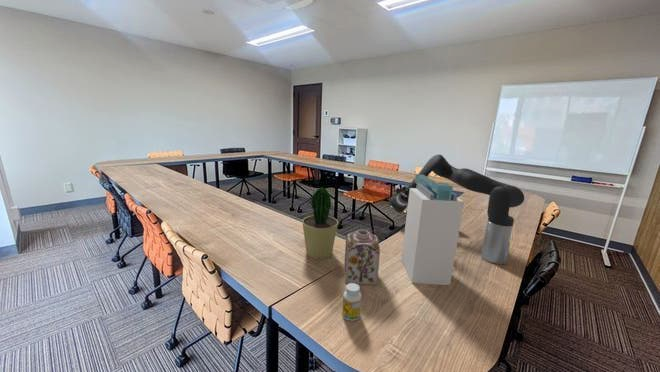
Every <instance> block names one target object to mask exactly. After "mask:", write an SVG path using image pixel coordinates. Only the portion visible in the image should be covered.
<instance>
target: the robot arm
mask: <svg viewBox="0 0 660 372" xmlns="http://www.w3.org/2000/svg"><path fill="white" fill-rule="evenodd" d="M432 172H433V174H435V176H437V177H440V178H444V179H447V180H448V181H451V182H453V183H454V184H456V185H458V186H460V187H462V188H463V189H466V190H468V191H471V192H474V193H480V194H483V195H488V196H489V197H488V204H487V216H488V217H487V222H486V223H487V224H486V227H485V233H484V237H483V238H484V239H483V242H482V243H483V244H482V248H481V252H480V257H481V258H482V259H483V260H485V261H486V262H489V263H491V264H497V265H500V264H501V265H502V264H503V265H506V264H507V260H508V256H509V251H510V246H511V244H510V239H511V235H512V232H513V227H514V223H515V219H514V217H513V216H511V215H509V213H510V209H511V208H516V207H518V206H521V205H522V204H523V203H524V201H525V195H524V192H523V191H522V190H521V189H520V188H519V187H517V186H515V185H512V184H508V183H504V182H501V181H498V180H495V179H493V178H491V177H489V176H486V175H484V174H481V173H479V172H477V171H475V170H473V169H469V168H463V167H462V168H457V167H454V166H452V165H451V164H450V163H449V162H448V160H447V159H446V158H445V157H444V155H442V154H434V155H433V156H432V157H430V159H428V161H427V162H426V164H424V166H423V167H422V169H420V170H419V173H418V174H420V175H425V176H427V177H428V176H429V175H430V174H431V173H432ZM416 186H417V184H416V183H415V178H414V179H413V180H412V181H411V182H410V183H408V185H407V186H406V185H403V186H402V187H400V188H399V187H397V188H395V189H394V195H392V196H391V197H389V199H388V204H389V206H390V207H391V208H392V209H393V210H394V211H395V212H396V213H399V214H401V213H404V212H405V211H406V209H407V208H408V199H409V191H410V188H416Z"/></svg>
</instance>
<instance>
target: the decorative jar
mask: <svg viewBox="0 0 660 372" xmlns="http://www.w3.org/2000/svg"><path fill="white" fill-rule="evenodd" d="M380 248H381V247H380V243H379V238H378V236H377V235H376V234H373V233H371V232H370V231H368V230H366V229H358V230H356V231H353V232H349V233H347V234H346V237H345V250H344V283H345V284H346V285H347V284H349V283H355V284H357V285H365V284H367V285H370V286H377V285H378V279H379V269H380V256H381V251H380V250H381V249H380Z"/></svg>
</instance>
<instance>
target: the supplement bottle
mask: <svg viewBox="0 0 660 372" xmlns="http://www.w3.org/2000/svg"><path fill="white" fill-rule="evenodd" d="M360 290H361V288H360V285H359V284H355V283H349V284H346V286H345V291H344V292H343V295H342V314H341V315H342V317H343V318H344V319H345V320H346V321H349V320H350V322H354V320H355V321H357V319H358V320H359V319H360V317H361V310H362V309H361V308H362V307H361V306H362V293H361V291H360Z"/></svg>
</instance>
